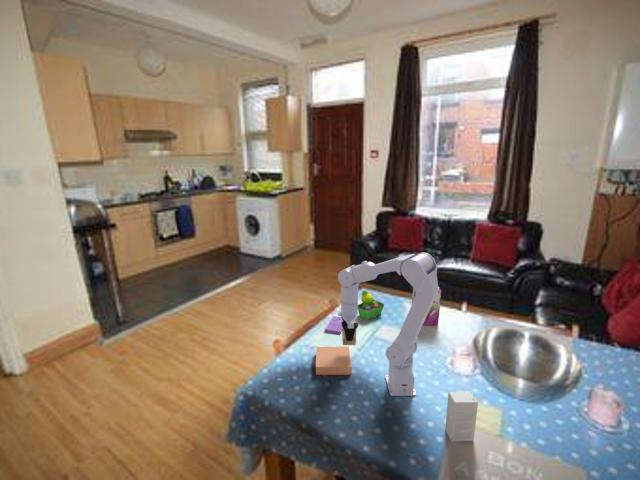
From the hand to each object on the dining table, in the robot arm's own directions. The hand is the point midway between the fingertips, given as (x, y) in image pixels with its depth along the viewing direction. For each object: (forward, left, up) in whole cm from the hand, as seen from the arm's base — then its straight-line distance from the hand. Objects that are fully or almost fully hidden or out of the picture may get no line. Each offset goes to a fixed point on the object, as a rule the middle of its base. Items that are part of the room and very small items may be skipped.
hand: (348, 336), depth 117 cm
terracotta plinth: (-2, +6, -10) cm, 11 cm away
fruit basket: (+35, -12, -10) cm, 38 cm away
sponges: (+25, +3, -10) cm, 27 cm away
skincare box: (-33, -26, -10) cm, 43 cm away
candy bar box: (+27, -35, -10) cm, 45 cm away
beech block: (0, 0, -2) cm, 2 cm away
